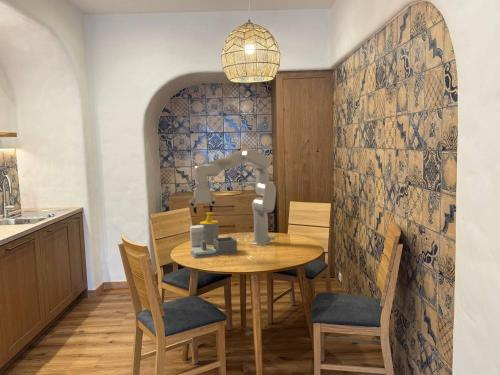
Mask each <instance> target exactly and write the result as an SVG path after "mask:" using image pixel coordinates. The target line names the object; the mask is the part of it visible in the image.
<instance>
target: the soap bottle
mask: <svg viewBox="0 0 500 375" xmlns="http://www.w3.org/2000/svg"><path fill="white" fill-rule="evenodd" d="M214 214H215V213H214V212H206V216H207V217H206V219H205V220H203V221H200V222H199V225H203V226H204V232H205V241H206V245H207V244H208V245H214V239H215V238H219V222H220V221H218V220H213V218H212V216H211V215H214Z"/></svg>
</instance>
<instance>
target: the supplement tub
mask: <svg viewBox="0 0 500 375" xmlns="http://www.w3.org/2000/svg"><path fill="white" fill-rule="evenodd" d="M189 235H190V248H191V249H192V248H197V247H201V240H205V232H204V226H203V225H200V224H197V225H191V226H190V227H189Z"/></svg>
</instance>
